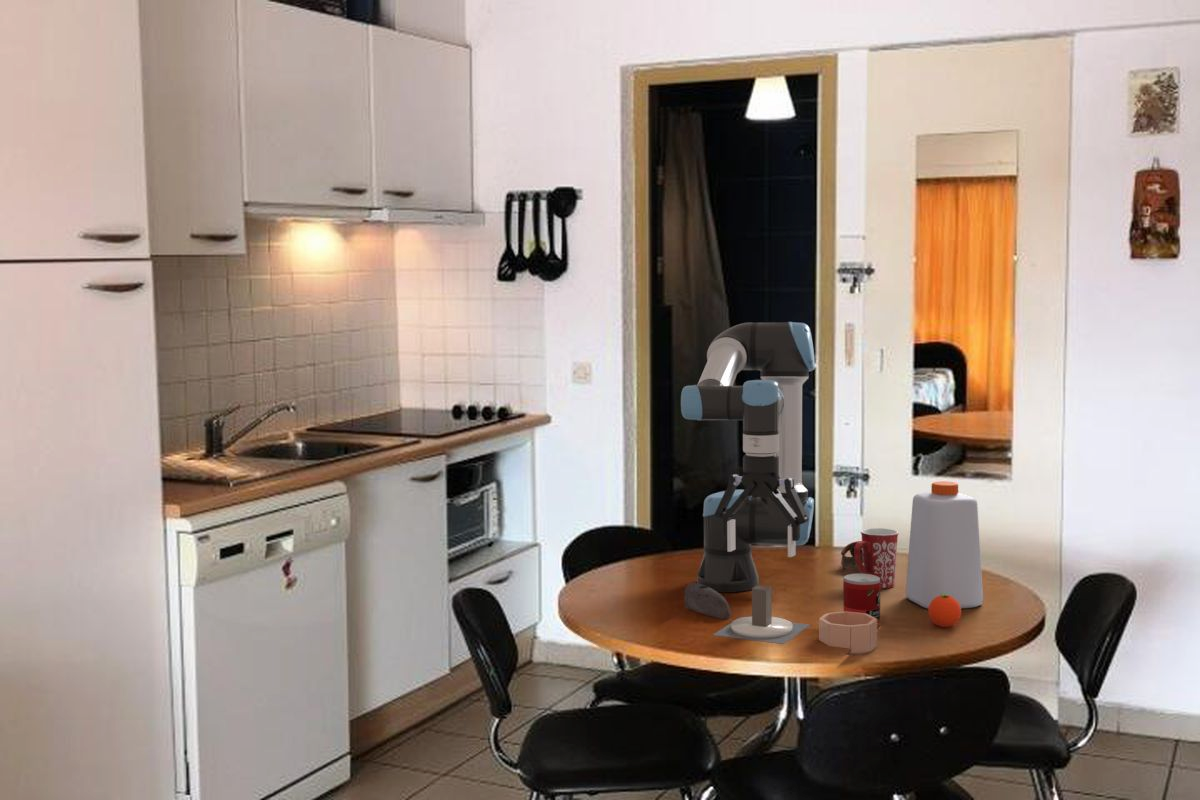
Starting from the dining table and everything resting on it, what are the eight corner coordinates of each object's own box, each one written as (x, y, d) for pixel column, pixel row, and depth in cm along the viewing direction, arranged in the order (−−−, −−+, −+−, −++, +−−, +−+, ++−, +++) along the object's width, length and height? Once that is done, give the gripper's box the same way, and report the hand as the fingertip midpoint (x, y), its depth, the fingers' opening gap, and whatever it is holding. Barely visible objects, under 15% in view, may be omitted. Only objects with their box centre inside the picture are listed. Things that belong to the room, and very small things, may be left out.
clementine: (924, 621, 303) (924, 589, 302) (956, 620, 303) (956, 589, 302) (931, 631, 295) (932, 598, 294) (964, 630, 295) (964, 598, 294)
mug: (879, 579, 342) (879, 526, 340) (906, 586, 334) (906, 531, 333) (841, 586, 335) (841, 532, 334) (868, 594, 327) (868, 538, 326)
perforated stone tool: (738, 624, 303) (737, 594, 302) (718, 628, 301) (717, 597, 300) (701, 609, 316) (701, 580, 316) (681, 613, 314) (681, 583, 313)
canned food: (872, 633, 294) (872, 583, 293) (837, 628, 298) (837, 579, 297) (885, 625, 300) (885, 575, 299) (851, 620, 305) (851, 571, 303)
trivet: (712, 641, 290) (712, 634, 290) (741, 623, 304) (741, 616, 304) (784, 650, 282) (784, 643, 282) (810, 631, 296) (810, 624, 296)
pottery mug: (887, 574, 350) (876, 548, 347) (854, 590, 350) (842, 565, 347) (872, 552, 361) (861, 527, 358) (840, 568, 361) (828, 544, 358)
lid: (721, 633, 290) (721, 591, 289) (744, 618, 302) (744, 577, 301) (780, 641, 284) (780, 597, 283) (801, 625, 296) (801, 583, 295)
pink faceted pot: (813, 650, 282) (813, 622, 281) (830, 637, 292) (830, 609, 291) (866, 657, 277) (866, 628, 276) (881, 643, 287) (881, 615, 286)
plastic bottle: (928, 612, 310) (929, 490, 307) (899, 596, 324) (900, 479, 321) (989, 607, 313) (991, 486, 310) (957, 592, 328) (959, 476, 325)
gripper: (699, 453, 291) (700, 551, 293) (811, 459, 280) (811, 561, 282) (713, 448, 298) (713, 544, 300) (823, 454, 286) (823, 554, 288)
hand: (761, 553), depth 291 cm, fingers open, 13 cm apart
